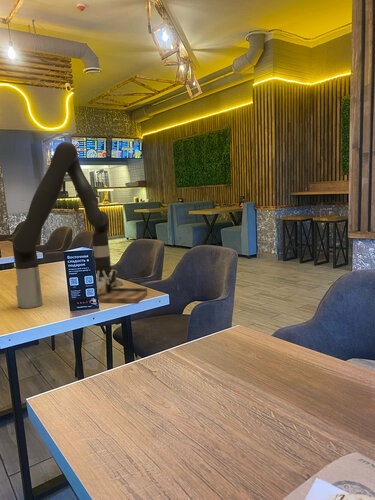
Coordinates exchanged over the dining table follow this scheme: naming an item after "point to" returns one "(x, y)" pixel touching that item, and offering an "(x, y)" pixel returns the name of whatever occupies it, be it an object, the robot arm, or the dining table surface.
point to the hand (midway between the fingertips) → (104, 291)
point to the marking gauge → (102, 287)
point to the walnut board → (123, 295)
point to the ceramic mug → (115, 281)
